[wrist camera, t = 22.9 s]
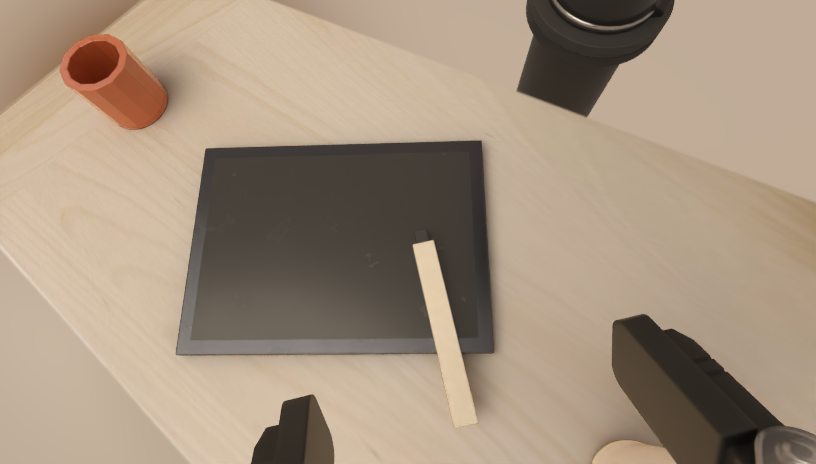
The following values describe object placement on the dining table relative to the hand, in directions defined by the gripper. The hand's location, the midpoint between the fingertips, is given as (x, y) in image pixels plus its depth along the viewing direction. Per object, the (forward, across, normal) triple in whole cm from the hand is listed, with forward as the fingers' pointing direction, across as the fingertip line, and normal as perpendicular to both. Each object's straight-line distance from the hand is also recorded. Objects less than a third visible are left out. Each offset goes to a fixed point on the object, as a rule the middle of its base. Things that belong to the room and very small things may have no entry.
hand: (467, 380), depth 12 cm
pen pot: (+34, +20, -6) cm, 39 cm away
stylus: (+20, -1, +6) cm, 21 cm away
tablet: (+22, +5, +6) cm, 23 cm away
